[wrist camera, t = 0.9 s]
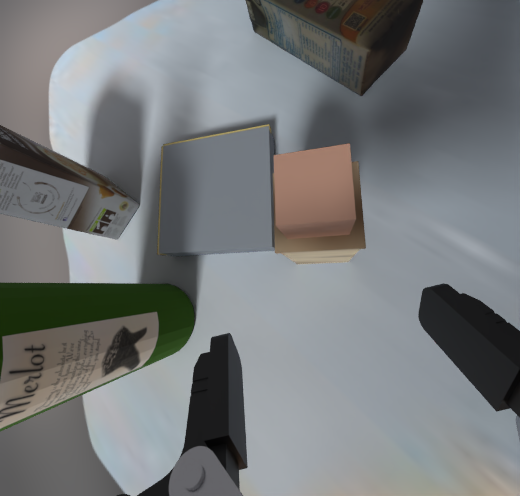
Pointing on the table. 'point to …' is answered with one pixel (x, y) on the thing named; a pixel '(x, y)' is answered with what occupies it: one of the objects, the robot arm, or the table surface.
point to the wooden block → (325, 237)
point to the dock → (217, 194)
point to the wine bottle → (81, 339)
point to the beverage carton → (339, 34)
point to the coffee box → (58, 190)
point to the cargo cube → (314, 192)
